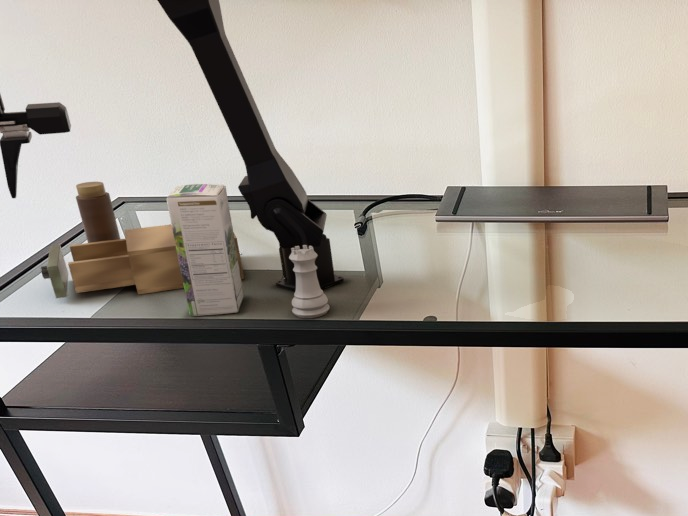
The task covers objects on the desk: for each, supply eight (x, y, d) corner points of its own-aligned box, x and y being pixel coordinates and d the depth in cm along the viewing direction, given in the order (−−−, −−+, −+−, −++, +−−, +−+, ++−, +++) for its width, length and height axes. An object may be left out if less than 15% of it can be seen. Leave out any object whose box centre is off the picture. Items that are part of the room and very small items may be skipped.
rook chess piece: (320, 320, 98) (311, 255, 94) (285, 317, 99) (275, 252, 95) (336, 307, 102) (328, 243, 98) (302, 304, 102) (293, 241, 99)
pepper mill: (129, 262, 118) (109, 184, 113) (97, 268, 116) (76, 189, 111) (121, 255, 121) (102, 179, 116) (90, 260, 119) (69, 183, 114)
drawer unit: (138, 294, 106) (127, 251, 104) (134, 269, 115) (124, 229, 113) (244, 279, 111) (236, 237, 109) (233, 256, 120) (225, 217, 118)
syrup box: (197, 300, 104) (172, 184, 97) (246, 297, 105) (225, 182, 98) (189, 317, 99) (162, 196, 92) (240, 313, 100) (217, 193, 93)
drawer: (45, 300, 102) (35, 268, 100) (48, 276, 110) (39, 247, 108) (162, 283, 108) (155, 253, 106) (157, 262, 116) (150, 233, 114)
